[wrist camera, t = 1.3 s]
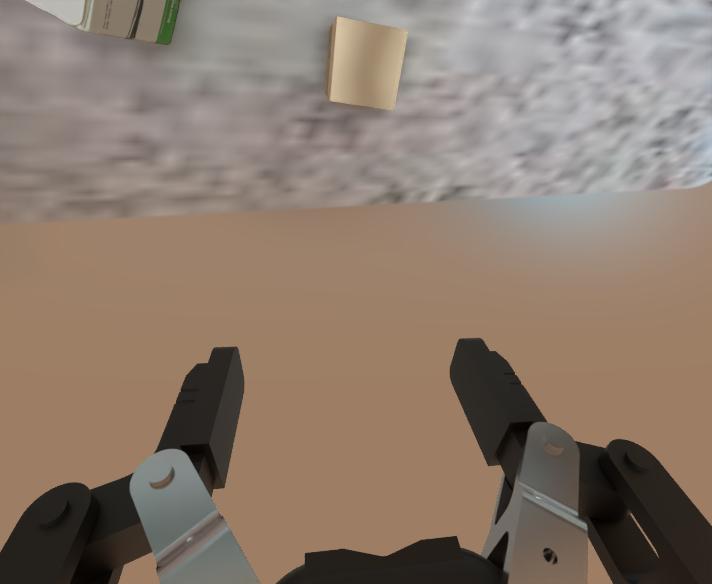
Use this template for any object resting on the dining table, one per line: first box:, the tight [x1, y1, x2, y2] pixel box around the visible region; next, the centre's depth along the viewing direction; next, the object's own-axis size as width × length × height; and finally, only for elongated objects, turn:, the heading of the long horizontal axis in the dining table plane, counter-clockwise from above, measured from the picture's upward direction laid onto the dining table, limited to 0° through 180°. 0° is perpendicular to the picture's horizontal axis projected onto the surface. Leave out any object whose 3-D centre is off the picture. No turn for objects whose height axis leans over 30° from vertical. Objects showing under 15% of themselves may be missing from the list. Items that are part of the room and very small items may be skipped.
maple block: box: [325, 17, 408, 111], centre depth 26 cm, size 5×5×8 cm
